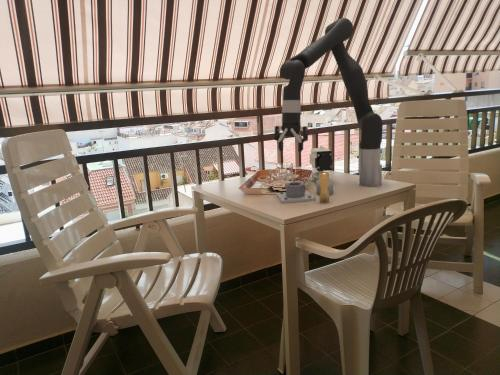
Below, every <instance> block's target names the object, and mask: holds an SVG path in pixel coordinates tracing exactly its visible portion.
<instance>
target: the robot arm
mask: <svg viewBox="0 0 500 375" xmlns="http://www.w3.org/2000/svg"><path fill="white" fill-rule="evenodd" d="M324 30H325V31H324V35H322V36H321V37H319V38H318V39H316V40H315V41H313V42H312V43H310V44H309V45H307V47H305V48H304V49H302V50H301V51H300V52H299V53H298V54H296V55H294V56H292V57H290V58H289V59H287V60H285V61H284V62H282V65H281V66H280V69H279V74H280V76H281V78H282V79H284V80H289V81H288V84H287V85H285V86H284V87H283V89H282V90H283V91H282V105H281V106H282V107H281V124H282V125H281V126H280V125H275V126H274V135H273V137H274V138H273V140H274V141H277V142H278V150H279V152H283V151H284V140H285V139H286V138H287V137H293V138H294V137H295V139H297V141H298V145H297V146H298V148H297V149H298V152H299V153H301V152H302V151H303V150H304V143H305V142H307V141H308V140H309V131H308V130H309V128H308V126H307V125H305V126H301V107H302V106H301V89H302V86H303V82H304V78H305V75H306V69H308V68H311V66H313V65H314V64H315V63H316V62H318V61H319V60H320V59H321V58H322V57H323V56H324V55H325V54H327V53H328V52H329V51H331V54H332V55H333V58H334V60H335V62H336V64H337V67H338V71H339V73H340V75H341V78H342V81H343V84H344V88H345V90H346V92H347V95H348V97H349V99H350V101H351V103H352V104H351V105H352V106H353V109H354V112H355V117H356V121H357V125H358V128H359V130H361V132H360V133H361V136H360V141H359V147H358V148H359V152H358V153H359V155H358V156H359V160H358V161H359V163H358V164H359V167H358V168H359V169H358V170H359V171H358V172H359V176H358V178H359V179H358V182H359V186H362V187H367V188H369V187H371V188H372V187H378V186H379V187H380V186H382V180H383V165H382V164H381V148H382V147H381V144H382V142H383V129H384V128H383V127H384V126H383V119H382V116H380V114H378V113H375V111H374V109H373V108H372V106H371V103H370V99H369V88H368V82H367V78H366V75H365V73H364V70H363V68H362V66H361V65H360V63H358V61H357V60H355V59H354V58H353V57H352V56H351V55H350V53H349V52H348V51H347V48H346V46H345V42H346V41H347V40H349V39H350V38H351V37H352V35H353V33H354V25H353V22H351V20H350V19H349V18H346V17H341V18H338V19H337V20H335V21H333V22H331V23H330V24H328V25H327V26H326V27H325V29H324ZM280 131H282V133H280ZM300 131H301V133H302V135H301V133H300Z"/></svg>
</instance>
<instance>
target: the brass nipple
mask: <svg viewBox="0 0 500 375" xmlns="http://www.w3.org/2000/svg"><path fill="white" fill-rule="evenodd" d="M329 179H330V172H328V171H324V172H320V173H319V185H320V195H319V203H322V204H328V203H330V195H329Z"/></svg>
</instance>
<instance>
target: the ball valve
mask: <svg viewBox="0 0 500 375" xmlns="http://www.w3.org/2000/svg"><path fill="white" fill-rule="evenodd" d="M309 164H311V167H312V168H313V169H314V170H315V172H314V173H312V174H311V179H312V181H315V182H317V180H318V179H319V173H320V172H328V171H333V151H332V150H331V149H329V148H327V147H325V146H323V145H319V147H312V148H311V150H310V153H309Z"/></svg>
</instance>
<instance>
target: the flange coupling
mask: <svg viewBox="0 0 500 375" xmlns="http://www.w3.org/2000/svg"><path fill="white" fill-rule="evenodd" d="M285 188H286V192H281V191H279V192H276V197H277V198H278V199H279V201H280V202H281V203H282V204H289V203H300V202H303V203H304V202H312V201H313V202H315V201H316V197H315V196H314V195H312V193H311V192H309V191H308V190H306V189H305V184H304V183H301V182H291V183H287V184H285Z"/></svg>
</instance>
